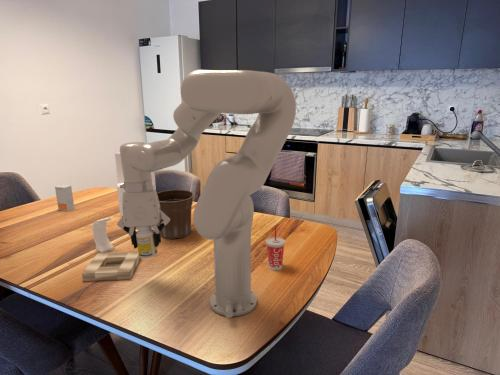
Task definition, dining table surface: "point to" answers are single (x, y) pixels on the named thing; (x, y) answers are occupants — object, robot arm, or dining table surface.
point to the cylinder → (121, 180)
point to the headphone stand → (101, 235)
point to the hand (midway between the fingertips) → (147, 245)
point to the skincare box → (64, 197)
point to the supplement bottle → (146, 242)
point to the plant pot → (176, 212)
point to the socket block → (111, 266)
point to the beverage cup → (275, 252)
